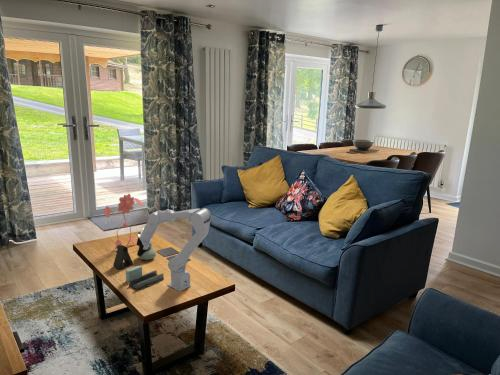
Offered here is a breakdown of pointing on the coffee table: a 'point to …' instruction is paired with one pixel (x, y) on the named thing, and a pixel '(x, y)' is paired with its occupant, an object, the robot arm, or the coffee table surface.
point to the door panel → (133, 273)
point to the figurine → (124, 206)
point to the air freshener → (148, 253)
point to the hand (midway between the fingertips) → (138, 250)
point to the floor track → (145, 280)
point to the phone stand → (122, 258)
